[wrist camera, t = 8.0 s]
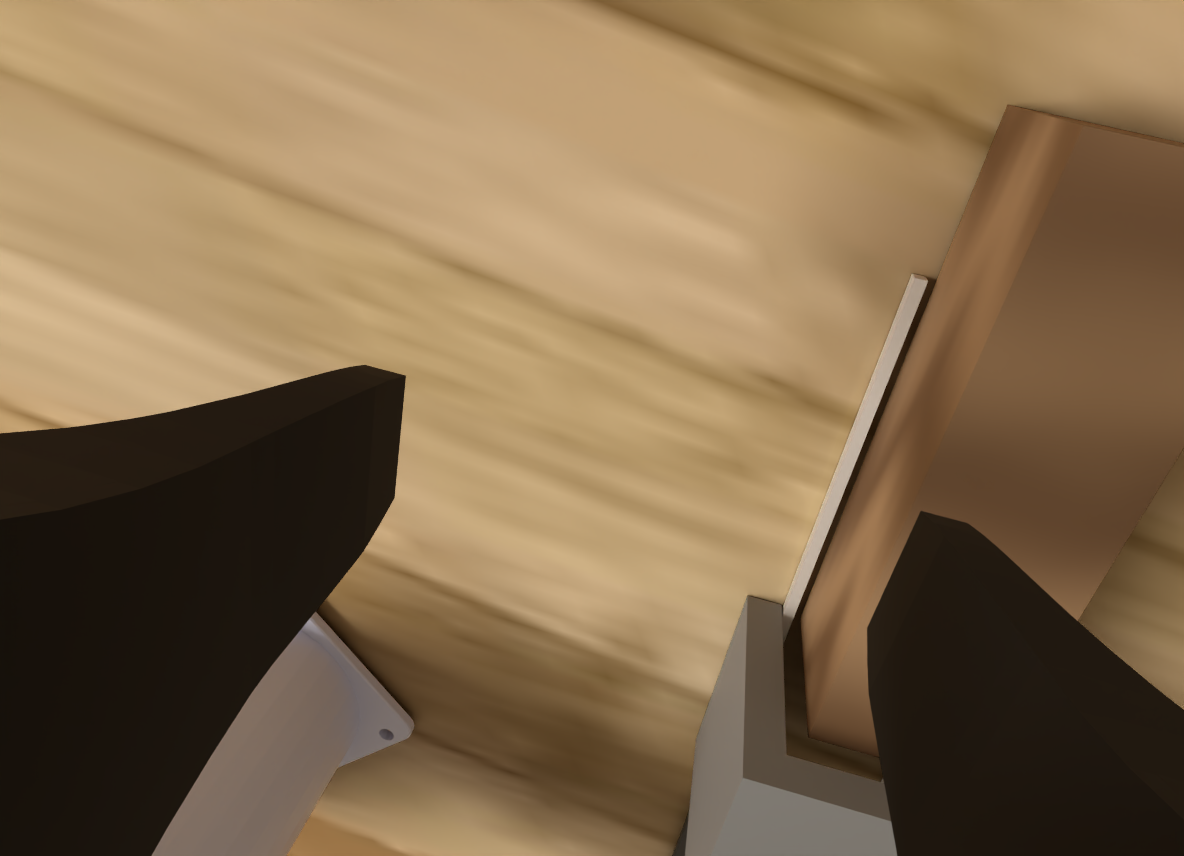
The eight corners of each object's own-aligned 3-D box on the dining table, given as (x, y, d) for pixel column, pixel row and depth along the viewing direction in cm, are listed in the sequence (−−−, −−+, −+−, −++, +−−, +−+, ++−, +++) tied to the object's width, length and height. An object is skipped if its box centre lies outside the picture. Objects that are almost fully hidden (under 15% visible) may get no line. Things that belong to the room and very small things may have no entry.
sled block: (939, 655, 23) (976, 785, 19) (800, 617, 23) (808, 737, 19) (1205, 147, 16) (1345, 183, 13) (1007, 105, 17) (1083, 125, 13)
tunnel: (895, 844, 26) (932, 1068, 21) (681, 780, 27) (659, 981, 21) (1184, 338, 18) (1379, 478, 12) (867, 262, 19) (913, 362, 13)
